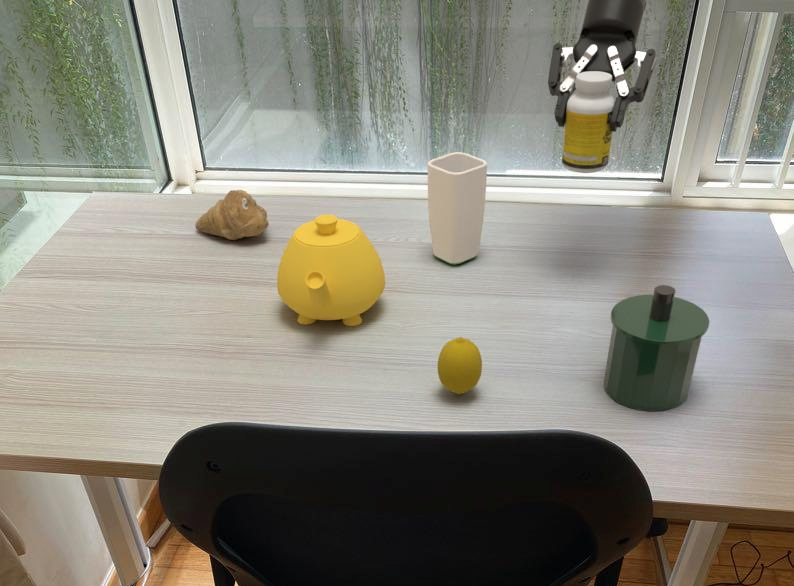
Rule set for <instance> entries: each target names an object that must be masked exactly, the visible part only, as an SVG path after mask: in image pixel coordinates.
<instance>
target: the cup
mask: <svg viewBox="0 0 794 586" xmlns="http://www.w3.org/2000/svg"><path fill="white" fill-rule="evenodd" d="M487 170H488V162H487V161H486V160H484V159H483V158H480V157H478V156H474V155H472V154H470V153H466V152H461V151H455V152H454V151H453V152H450V153H447V154H444V155H442V156H438V157H436V158H433V159H431V160H429V161H428V162H427V205H428V220H429V221H428V223H429V231H430V240H431V246H432V253H433V255H434V256H435V257H436V258H437V259H438V260H442V261H443V262H445V263H447V264H449V265H455V266H457V265H461V264H462V263H465V262H467V261H470V260H472V259H474V258H475V257H477V256H478V254H479V251H480V249H479V248H480V244H481V240H482V232H483V226H484V217H485V207H486V206H485V205H486V193H487V177H488V176H487V175H488V174H487V173H488V171H487Z"/></svg>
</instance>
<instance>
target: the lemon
mask: <svg viewBox="0 0 794 586" xmlns="http://www.w3.org/2000/svg"><path fill="white" fill-rule="evenodd" d="M482 360H483V359H482V355H481V352H480V350H479V348H478V346H477V345H476V344H475V343H474V342H473V341H472V340H470V339H468V338H464V337H463V336H460V337H457V338H452V339H451V340H449V341H447V342H446V343H445V344H444V345H443V346H442V348H441V350H440V352H439V355H438V359H437V375H438V379H439V381H440V383H441V384H442V386H443V387H444V388H445V389H446V390H447V391H449V392H451V393H454V394H457V395H462V394H464V393H468V392H470V391H472V390H473V389H474V388H475V387H476V386H477V385H478V383H479V381H480V379H481V376H482V372H483V361H482Z"/></svg>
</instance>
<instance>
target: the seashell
mask: <svg viewBox="0 0 794 586" xmlns="http://www.w3.org/2000/svg"><path fill="white" fill-rule="evenodd" d="M269 225H270V223H269V221H268V212H267V211H266V209H265V208H264V207H263V206H260V205H258V203H257V201H256V200H255V199H254V198H253V197H252V195H251V194H250V193H248V192H247V191H246V190H243V189H237V190H236V189H235V190H234V189H233V190H229V192H227V194H226V195H225V196H224V199H219V200H218V201H216V204H215V205H214V206H211V207H210V208H209V209H208V210H207V211H206V212H205V213H204V214H201V216H200V217H199V218H198V219H197V220H196V221H195V230H197V231H199V232H202V233H204V234H210V235H212V236H218V237H221V238H226V239H228V240H233V241H236V240H239V239H242V238H244V237H247V238H250V237H256V236H259V235H260V234H262V232H264V231H265V230H266V229H267V228H268V227H269Z"/></svg>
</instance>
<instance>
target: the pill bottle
mask: <svg viewBox="0 0 794 586" xmlns="http://www.w3.org/2000/svg"><path fill="white" fill-rule="evenodd" d="M612 84H613V82H612V75H611V74H609V73H606V72H601V71H587V72H582V73H579V74H578V75H577V76H576V82H575V88H576V89H577V91H576V92H575V93H574V94H573V95H572V96H571V97H570V98H569V100H568V102H567V108H566V120H565V125H564V132H563V133H564V134H563V146H562V154H561V164H562V167H564V168H565V169H566V170H568V171H571V172H574V173H578V174H579V173H580V174H592V173H597V172H600V171H603V170H604V169H605V168H607V166H608V165H609V160H610V153H611V152H610V151H611V146H612V145H611V143H612V136H613V131H610V121H611V117H612V113H613V109H614V105H615V101H616V99H615V98H614V96H613V95H612V94H611V93H609V90H610V89H611V88H612Z"/></svg>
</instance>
